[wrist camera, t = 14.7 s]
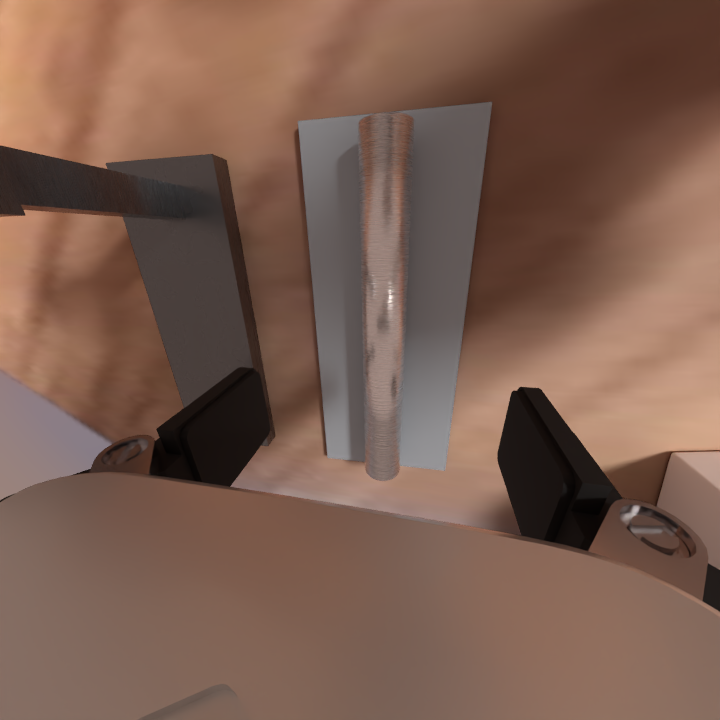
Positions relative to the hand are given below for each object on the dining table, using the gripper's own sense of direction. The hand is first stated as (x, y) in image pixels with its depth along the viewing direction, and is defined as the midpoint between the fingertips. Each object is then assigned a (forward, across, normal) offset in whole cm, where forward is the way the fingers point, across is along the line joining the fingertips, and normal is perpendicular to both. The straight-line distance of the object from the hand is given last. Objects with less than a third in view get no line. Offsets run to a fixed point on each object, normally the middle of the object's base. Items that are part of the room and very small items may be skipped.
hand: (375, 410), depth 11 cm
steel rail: (+11, +1, +1) cm, 11 cm away
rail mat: (+12, +1, +1) cm, 12 cm away
